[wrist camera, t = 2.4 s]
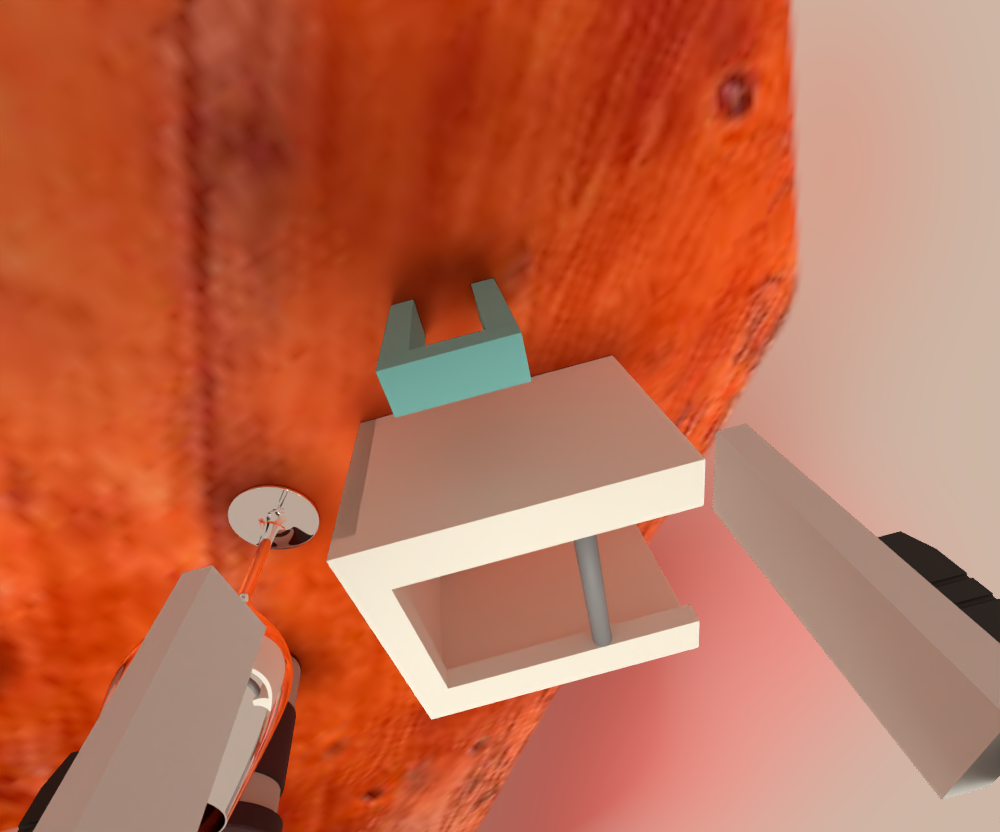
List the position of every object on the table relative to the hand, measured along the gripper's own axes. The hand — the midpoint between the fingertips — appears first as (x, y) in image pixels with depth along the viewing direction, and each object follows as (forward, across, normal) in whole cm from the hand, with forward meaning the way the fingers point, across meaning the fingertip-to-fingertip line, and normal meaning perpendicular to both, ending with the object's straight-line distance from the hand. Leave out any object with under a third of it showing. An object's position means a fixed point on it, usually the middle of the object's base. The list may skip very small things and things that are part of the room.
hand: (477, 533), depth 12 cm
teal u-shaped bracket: (+18, 0, 0) cm, 19 cm away
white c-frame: (+18, +1, -14) cm, 23 cm away
